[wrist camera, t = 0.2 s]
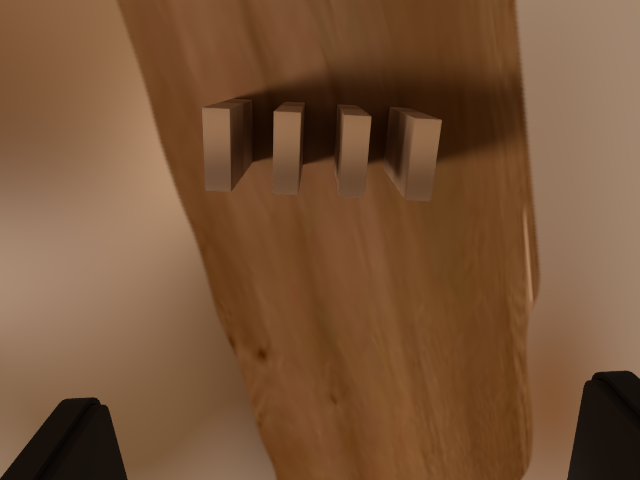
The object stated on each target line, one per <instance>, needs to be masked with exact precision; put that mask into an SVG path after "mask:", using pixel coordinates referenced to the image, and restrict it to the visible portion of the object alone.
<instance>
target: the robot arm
mask: <svg viewBox="0 0 640 480" xmlns="http://www.w3.org/2000/svg"><path fill="white" fill-rule="evenodd" d="M0 480H128V479H127V476H126V472H125V468H124V464H123V461H122V457H121V453H120V450H119V446H118V442H117V438H116V435H115V431H114V427H113V423H112V420H111V416H110V412H109V409H108V407H107V406H106V405H101V404H100V402H99V400H98V399H97V398H72V399H65V400H62V401H61V402H60V403H59V404H58V406H57V407H56V408H55V410H54V411H53V412H52V413H51V415H50V416H49V417H48V418H47V420H46V421H45V422H44V423H43V425H42V426H41V427H40V429H39V430H38V431H37V433H36V434H35V435H34V436H33V438H32V439H31V440H30V441H29V443H28V444H27V445H26V446H25V448H24V449H23V450H22V452H21V453H20V454H19V455H18V457H17V458H16V459H15V460H14V462H13V463H12V464H11V466H10V467H9V468H8V470H7V471H6V472H5V473H4V475H3V476H2V477H1V478H0ZM567 480H640V379H639V378H638V377H637V376H636V375H635V374H633V373H632V372H629V371H610V372H597V373H595V374H594V375H593V377H592V380H589V381H587V382H586V383H585V385H584V388H583V395H582V400H581V405H580V411H579V416H578V422H577V428H576V433H575V439H574V444H573V450H572V456H571V461H570V467H569V472H568V478H567Z"/></svg>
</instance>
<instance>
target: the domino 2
mask: <svg viewBox="0 0 640 480" xmlns="http://www.w3.org/2000/svg"><path fill="white" fill-rule="evenodd" d="M304 115H305V103H303V102H284V103H283V104H282V105H280V106H279V107H278V108H277V109H276V110H275V111H274V131H273V194H286V195H298V192H299V186H300V179H301V172H302V166H303V141H304Z"/></svg>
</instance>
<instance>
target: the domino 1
mask: <svg viewBox="0 0 640 480" xmlns="http://www.w3.org/2000/svg"><path fill="white" fill-rule="evenodd" d="M202 115H203V141H204V167H205V191H223V192H231V191H232V190H233V189H234V187H235V186H236V184H237V183H238V182H239V180H240V179H241V177H242V176H243V175H244V173H245V172H246V171H247V169H248V168H249V166H250V165H251V164H252V100H245V99H230V100H226V101H223V102H220V103H216V104H213V105H209V106H206V107H203V108H202Z"/></svg>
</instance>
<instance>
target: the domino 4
mask: <svg viewBox="0 0 640 480" xmlns="http://www.w3.org/2000/svg"><path fill="white" fill-rule="evenodd" d="M441 123H442V120H441V119H438V118H435V117H433V116H430V115H427V114H424V113H422V112H419V111H416V110H413V109H411V108H398V107H390V108H389V118H388V128H387V138H386V148H385V158H384V168H383V169H384V170H385V172H386V173H387V175H388V176H389V177H390V179H391V180H392V182H393V183H394V184H395V186H396V187H397V189H398V190H399V192H400V193H401V194H402V196H403V197H404V199H405V200H417V201H431V194H432V187H433V180H434V173H435V166H436V159H437V152H438V144H439V137H440V130H441Z"/></svg>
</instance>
